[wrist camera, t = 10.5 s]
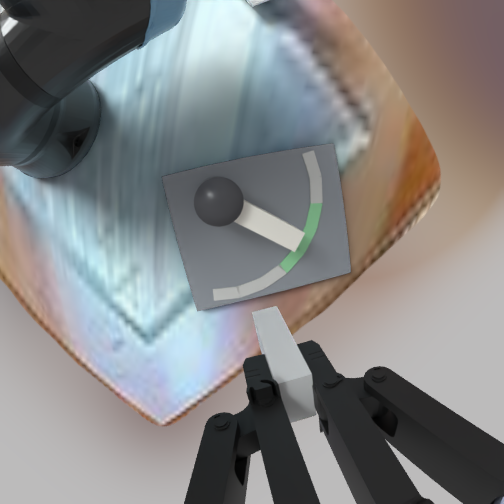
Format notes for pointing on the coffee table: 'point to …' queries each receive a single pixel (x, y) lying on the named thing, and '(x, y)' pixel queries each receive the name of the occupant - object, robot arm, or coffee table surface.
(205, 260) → the tuner board
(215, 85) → the coffee table surface
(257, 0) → the white faucet
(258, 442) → the robot arm
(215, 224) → the white and grey lever
